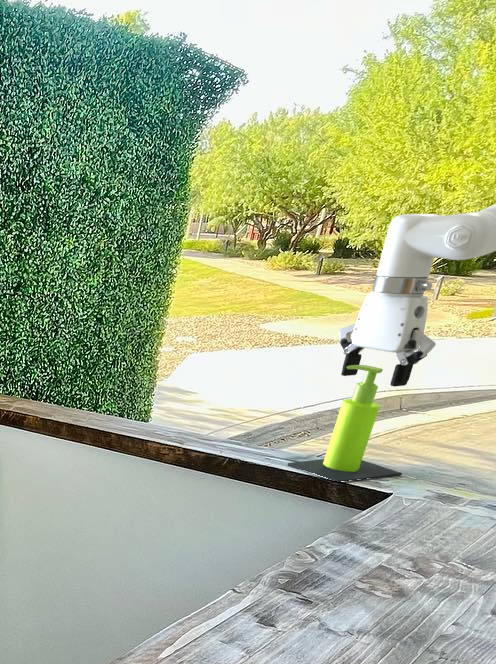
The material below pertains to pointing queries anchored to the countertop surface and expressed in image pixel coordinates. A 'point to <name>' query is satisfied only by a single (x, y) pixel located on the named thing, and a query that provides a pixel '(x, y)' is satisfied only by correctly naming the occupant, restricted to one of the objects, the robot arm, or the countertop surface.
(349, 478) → the mat
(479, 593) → the countertop surface
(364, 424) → the soap dispenser
